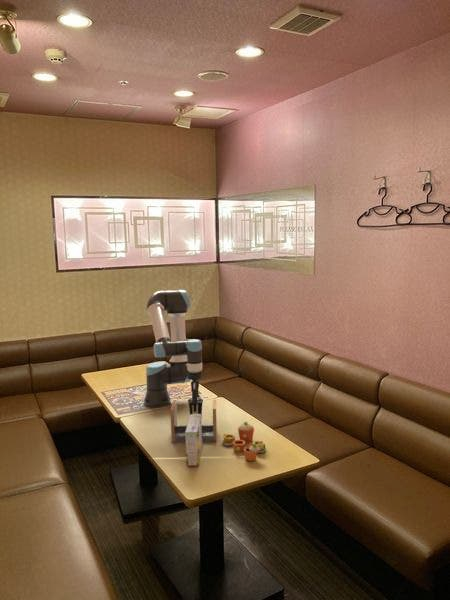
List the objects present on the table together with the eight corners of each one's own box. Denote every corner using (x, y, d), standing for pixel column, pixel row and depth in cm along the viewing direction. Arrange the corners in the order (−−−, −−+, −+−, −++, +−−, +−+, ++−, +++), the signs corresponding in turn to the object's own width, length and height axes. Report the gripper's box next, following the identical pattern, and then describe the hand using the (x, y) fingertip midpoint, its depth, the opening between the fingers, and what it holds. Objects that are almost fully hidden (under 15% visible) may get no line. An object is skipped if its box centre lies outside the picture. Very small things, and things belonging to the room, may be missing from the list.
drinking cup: (185, 426, 244) (184, 388, 241) (196, 422, 249) (195, 384, 247) (195, 430, 239) (194, 391, 236) (206, 425, 244) (205, 387, 242)
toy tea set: (218, 442, 225) (217, 422, 224) (246, 435, 232) (246, 416, 231) (246, 464, 202) (246, 442, 201) (277, 456, 209) (277, 435, 208)
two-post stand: (174, 431, 238) (173, 400, 236) (216, 430, 238) (216, 399, 236) (171, 442, 224) (170, 409, 222) (216, 441, 224) (215, 408, 222)
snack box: (190, 444, 222) (190, 413, 220) (203, 444, 222) (202, 413, 220) (185, 466, 201) (184, 431, 199) (199, 466, 201) (198, 431, 199)
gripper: (188, 365, 251) (189, 406, 254) (185, 376, 229) (186, 422, 232) (202, 364, 251) (203, 406, 254) (201, 376, 229) (202, 421, 232)
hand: (195, 413), depth 243 cm, fingers open, 9 cm apart
